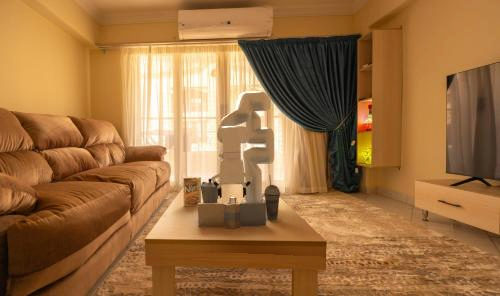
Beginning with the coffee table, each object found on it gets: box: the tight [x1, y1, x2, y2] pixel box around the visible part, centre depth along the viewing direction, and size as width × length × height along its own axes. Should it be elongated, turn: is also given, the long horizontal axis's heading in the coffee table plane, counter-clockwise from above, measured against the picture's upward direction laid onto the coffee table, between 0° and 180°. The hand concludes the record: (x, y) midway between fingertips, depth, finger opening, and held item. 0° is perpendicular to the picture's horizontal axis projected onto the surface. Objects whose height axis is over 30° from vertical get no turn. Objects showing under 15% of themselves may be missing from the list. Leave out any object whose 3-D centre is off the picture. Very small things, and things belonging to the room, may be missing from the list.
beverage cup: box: [263, 174, 281, 222], centre depth 121 cm, size 7×7×20 cm
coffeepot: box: [201, 178, 219, 203], centre depth 126 cm, size 15×9×18 cm, turn 33°
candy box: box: [182, 176, 202, 207], centre depth 148 cm, size 9×4×15 cm, turn 87°
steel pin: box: [228, 196, 238, 205], centre depth 112 cm, size 3×3×12 cm
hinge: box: [197, 201, 267, 230], centre depth 112 cm, size 28×7×10 cm, turn 92°
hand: (232, 197), depth 112 cm, fingers open, 9 cm apart
